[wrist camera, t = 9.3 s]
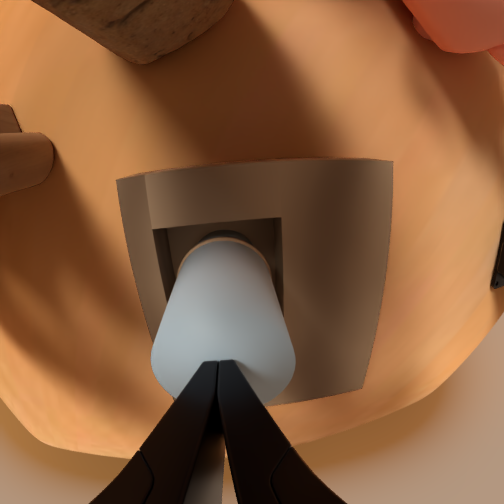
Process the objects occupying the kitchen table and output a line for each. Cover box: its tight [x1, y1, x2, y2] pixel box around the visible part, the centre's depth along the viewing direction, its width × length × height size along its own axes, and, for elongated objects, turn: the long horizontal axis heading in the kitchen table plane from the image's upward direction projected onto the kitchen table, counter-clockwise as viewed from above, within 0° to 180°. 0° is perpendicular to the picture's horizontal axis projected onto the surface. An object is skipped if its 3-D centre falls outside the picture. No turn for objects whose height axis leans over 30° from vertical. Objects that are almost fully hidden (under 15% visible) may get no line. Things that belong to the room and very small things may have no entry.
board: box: [116, 158, 393, 407], centre depth 14 cm, size 12×14×3 cm
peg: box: [151, 230, 296, 404], centre depth 11 cm, size 4×4×8 cm
